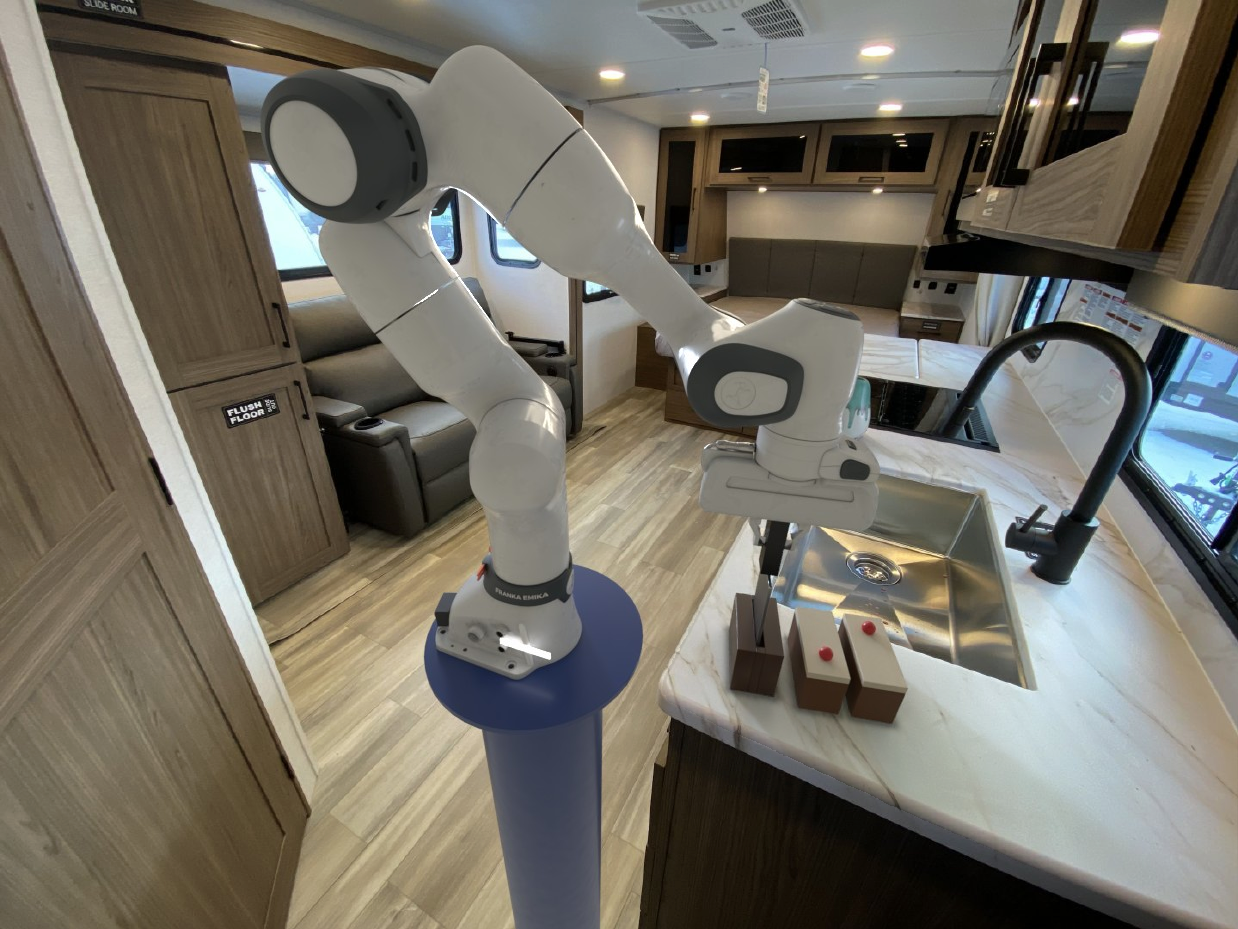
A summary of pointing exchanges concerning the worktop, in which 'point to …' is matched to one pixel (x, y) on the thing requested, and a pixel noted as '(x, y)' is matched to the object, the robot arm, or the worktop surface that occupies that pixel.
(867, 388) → the vase
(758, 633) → the knife
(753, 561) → the worktop surface
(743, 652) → the knife block
